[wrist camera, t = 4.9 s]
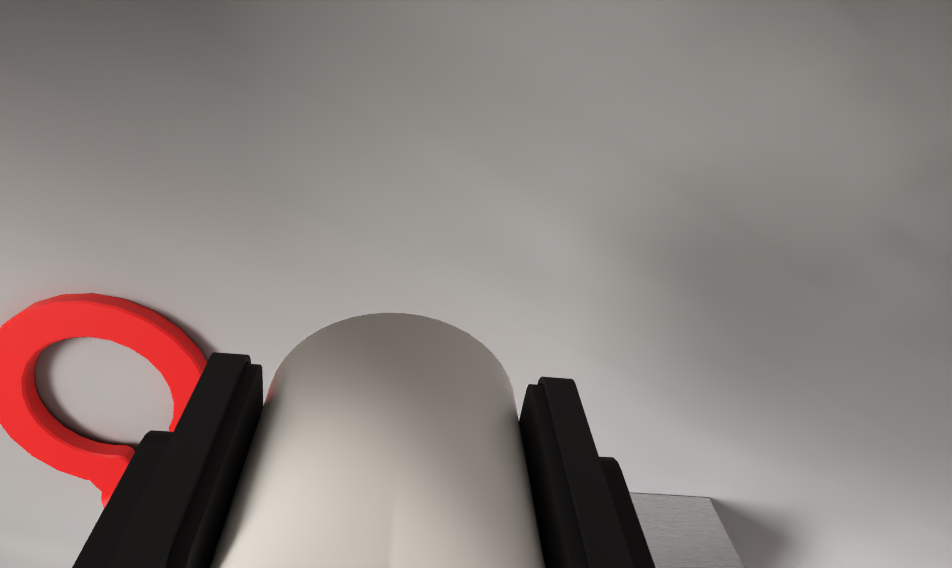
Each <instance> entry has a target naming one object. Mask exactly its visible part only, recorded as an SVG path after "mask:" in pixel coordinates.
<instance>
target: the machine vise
mask: <svg viewBox="0 0 952 568" xmlns="http://www.w3.org/2000/svg"><path fill="white" fill-rule="evenodd" d="M630 496H631V499H632V502H633V505H634V508H635V510H636V513H637V516H638V519H639V522H640V525H641V528H642V530H643V533H644V536H645V539H646V542H647V545H648V547H649V550H650V553H651V556H652V559H653V562H654V564H655V567H656V568H744V566H743V564H742V562H741V560H740V558H739V556H738V554H737V552H736V550H735V548H734V546H733V544H732V542H731V540H730V538H729V536H728V534H727V532H726V530H725V528H724V526H723V524H722V523H721V521H720V519H719V517H718V515H717V513H716V511H715V509H714V507H713V505H712V503H711V501H710V499H709V498H704V497H687V496H671V495H654V494H638V493H630Z"/></svg>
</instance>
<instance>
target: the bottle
mask: <svg viewBox="0 0 952 568" xmlns="http://www.w3.org/2000/svg"><path fill="white" fill-rule="evenodd" d="M209 568H545V562H544V557H543V551H542V546H541V540H540V535H539V529H538V524H537V519H536V513H535V508H534V502H533V497H532V491H531V486H530V480H529V475H528V469H527V464H526V458H525V453H524V447H523V442H522V436H521V431H520V425H519V420H518V414H517V409H516V404H515V398H514V393H513V388H512V385H511V383H510V380H509V377H508V375H507V373H506V372H505V370H504V368H503V366H502V365H501V363H500V362H499V361H498V360H497V358H496V357H495V356H494V355H493V353H492V352H491V351H490V350H488V349H487V348H486V347H485V346H484V345H483V344H482V343H481V342H479V341H478V340H477V339H475V338H474V337H472V336H471V335H470V334H468V333H466V332H464V331H462V330H460V329H458V328H457V327H455V326H452V325H450V324H447V323H445V322H442V321H439V320H436V319H432V318H428V317H424V316H419V315H412V314H405V313H379V314H368V315H362V316H357V317H352V318H349V319H346V320H342V321H339V322H336V323H334V324H331V325H329V326H327V327H325V328H323V329H320V330H319V331H317V332H315V333H314V334H312V335H311V336H309V337H307V338H306V339H305V340H303V341H302V342H301V343H300V344H298V345H297V346H296V347H295V348H294V349H293V350H292V351H291V352H290V353H289V354H288V355H287V357H286V358H285V359H284V360H283V362H282V363H281V365H280V366H279V368H278V369H277V371H276V373H275V376H274V378H273V380H272V382H271V385H270V388H269V391H268V394H267V397H266V400H265V403H264V406H263V409H262V412H261V415H260V418H259V421H258V424H257V427H256V430H255V433H254V436H253V439H252V442H251V445H250V448H249V451H248V454H247V457H246V460H245V463H244V466H243V469H242V472H241V475H240V478H239V481H238V484H237V487H236V490H235V493H234V496H233V499H232V502H231V505H230V508H229V511H228V514H227V517H226V520H225V523H224V526H223V529H222V532H221V535H220V538H219V541H218V544H217V547H216V550H215V553H214V556H213V559H212V562H211V564H210V567H209Z"/></svg>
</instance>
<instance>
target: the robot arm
mask: <svg viewBox="0 0 952 568" xmlns="http://www.w3.org/2000/svg"><path fill="white" fill-rule="evenodd" d="M262 409H263V377H262V366H261V365H258V364H251V359H250V356H249V355H243V354H229V353H216V352H214V353H213V354H212V355H211V356H210V358H209V360H208V362H207V364H206V366H205V368H204V370H203V372H202V374H201V376H200V378H199V380H198V382H197V384H196V387H195V389H194V391H193V393H192V395H191V397H190V399H189V401H188V403H187V405H186V407H185V409H184V411H183V413H182V415H181V417H180V419H179V421H178V423H177V425H176V427H175V429H174V431H173V432H168V431H149V432H148V433H147V434H146V435H145V436H144V437H143V439H142V440H141V442H140V444H139V446H138V447H137V449H136V451H135V453H134V455H133V457H132V459H131V460H130V462H129V464H128V466H127V468H126V470H125V471H124V473H123V475H122V477H121V479H120V481H119V482H118V484H117V486H116V488H115V490H114V492H113V494H112V495H111V497H110V499H109V501H108V503H107V505H106V506H105V508H104V510H103V512H102V514H101V516H100V517H99V519H98V521H97V523H96V525H95V527H94V529H93V530H92V532H91V534H90V536H89V538H88V540H87V541H86V543H85V545H84V547H83V549H82V551H81V552H80V554H79V556H78V558H77V560H76V562H75V564H74V565H73V567H72V568H209V567H210V564H211V562H212V559H213V556H214V553H215V550H216V547H217V544H218V541H219V538H220V535H221V532H222V529H223V526H224V523H225V520H226V517H227V514H228V511H229V508H230V505H231V502H232V499H233V496H234V493H235V490H236V487H237V484H238V481H239V478H240V475H241V472H242V469H243V466H244V463H245V460H246V457H247V454H248V451H249V448H250V445H251V442H252V439H253V436H254V433H255V430H256V427H257V424H258V421H259V418H260V415H261V412H262ZM519 425H520V431H521V436H522V442H523V447H524V453H525V458H526V464H527V469H528V475H529V480H530V486H531V491H532V497H533V502H534V508H535V513H536V519H537V524H538V529H539V535H540V540H541V546H542V551H543V557H544V562H545V568H656V567H655V564H654V562H653V559H652V556H651V553H650V550H649V547H648V545H647V542H646V539H645V536H644V533H643V530H642V528H641V525H640V522H639V519H638V516H637V513H636V510H635V508H634V505H633V502H632V499H631V496H630V493H629V491H628V488H627V485H626V482H625V479H624V476H623V474H622V471H621V468H620V466H619V464H618V462H617V461H616V460H615V459H614V458H612V457H599V456H598V453H597V450H596V447H595V444H594V441H593V437H592V434H591V431H590V428H589V425H588V422H587V419H586V415H585V412H584V409H583V406H582V403H581V400H580V397H579V393H578V390H577V387H576V384H575V382H574V380H572V379H565V378H552V377H541V378H540V379H539V381H538V384H537V385H534V384H529V385H528V387H527V390H526V394H525V398H524V402H523V407H522V411H521V415H520V420H519Z"/></svg>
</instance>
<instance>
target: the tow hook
mask: <svg viewBox="0 0 952 568" xmlns="http://www.w3.org/2000/svg"><path fill="white" fill-rule="evenodd" d="M75 337H94V338H100V339H106V340H111V341H114V342H116V343H119V344H121V345H124V346H126V347H129V348H131V349H133V350H134V351H136V352H137V353H139V354H140V355H142V356H143V357H145V358H146V359H148V360H149V361H150V362H151V363H152V364H153V365H154V366H155V367H156V368H157V369H158V370H159V371H160V372H161V374H162V375H163V377H164V379H165V380H166V382H167V384H168V385H169V387H170V390H171V394H172V397H173V401H174V412H173V419H172V422H171V424H170V426H169V431H170V432H173V431H174V429H175V427H176V425H177V423H178V421H179V419H180V417H181V415H182V413H183V411H184V409H185V407H186V405H187V403H188V401H189V399H190V397H191V395H192V393H193V391H194V389H195V387H196V384H197V382H198V380H199V378H200V376H201V374H202V372H203V370H204V368H205V366H206V364H207V361H206V359H205V358H204V356H203V354H202V352H201V350H200V349H199V348H198V347H197V346H196V345H195V344H194V343H193V342H192V341H191V340H190V339H189V338H188V336H187V335H186V334H185V333H184V332H183V331H182V330H181V329H180V328H178V327H177V326H175V325H174V324H173V323H171V322H170V321H168V320H167V319H165V318H164V317H162V316H161V315H159V314H158V313H156V312H155V311H153V310H150V309H148V308H145V307H143V306H141V305H138V304H136V303H133V302H131V301H128V300H126V299H122V298H117V297H111V296H106V295H100V294H94V293H88V294H65V295H59V296H56V297H52V298H49V299H46V300H42V301H39V302H36V303H34V304H32V305H31V306H29V307H28V308H26V309H25V310H23V311H21V312H20V313H18V314H17V315H15V316H14V317H12V318H11V319H10V320H9V321H7V322H6V323H5V324H3V325H2V327H1V328H0V424H1V425H2V427H3V428H4V429H5V431H6V432H7V433H8V435H9V436H10V437H11V438H12V439H13V440H14V441H16V442H17V443H18V444H19V445H20V446H21V447H23V448H24V449H25V450H26V451H27V452H28V453H30V454H31V455H32V456H34V457H35V458H37V459H39V460H41V461H42V462H44V463H46V464H48V465H50V466H51V467H53V468H55V469H57V470H59V471H62V472H65V473H68V474H71V475H73V476H76V477H79V478H82V479H85V480H90V481H91V482H92V483H93V484H94V485H95V486H96V487H97V488H98V489H100V490H101V491H102V496H101V498H102V504H103V506H104V508H105V506H106V505H107V503H108V501H109V499H110V497H111V495H112V494H113V492H114V490H115V488H116V486H117V484H118V482H119V481H120V479H121V477H122V475H123V473H124V471H125V470H126V468H127V466H128V464H129V462H130V460H131V459H132V457H133V455H134V453H135V450H134V449H133V448H132V447H129V446H126V445H111V444H105V443H98V442H95V441H93V440H90V439H87V438H84V437H81V436H79V435H78V434H76V433H74V432H72V431H71V430H69V429H67V428H66V427H64V426H63V425H62V424H61V423H60V422H58V421H57V420H56V419H55V418H54V417H53V416H52V415H51V414H50V413H49V412H48V410H47V409H46V407H45V406H44V405H43V403H42V402H41V400H40V398H39V395H38V392H37V390H36V387H35V377H34V369H35V366H36V362H37V359H38V356H39V355H40V353H41V352H42V351H43V350H44V348H46V347H47V346H49V345H50V344H52V343H54V342H58V341H61V340H64V339H68V338H75Z"/></svg>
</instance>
